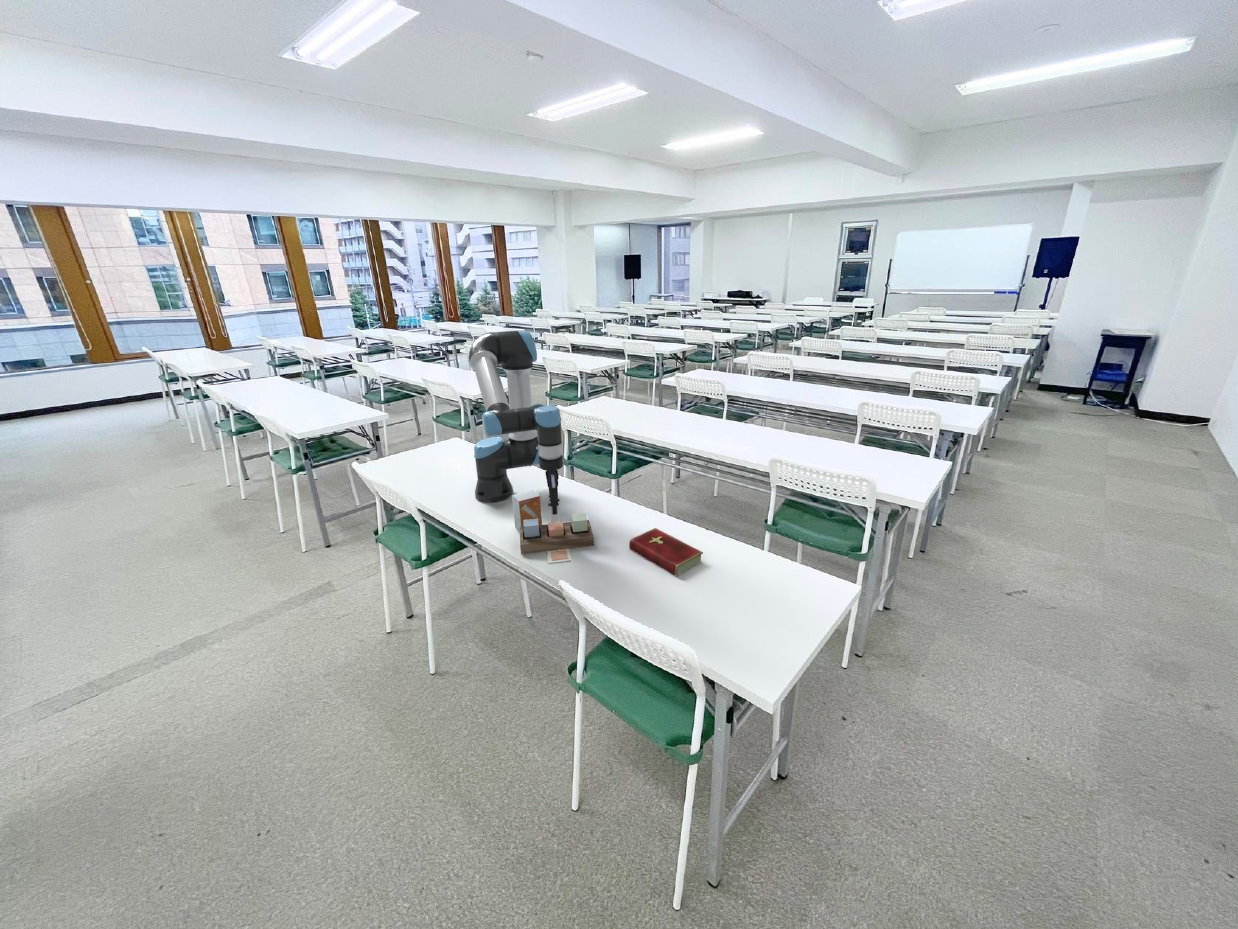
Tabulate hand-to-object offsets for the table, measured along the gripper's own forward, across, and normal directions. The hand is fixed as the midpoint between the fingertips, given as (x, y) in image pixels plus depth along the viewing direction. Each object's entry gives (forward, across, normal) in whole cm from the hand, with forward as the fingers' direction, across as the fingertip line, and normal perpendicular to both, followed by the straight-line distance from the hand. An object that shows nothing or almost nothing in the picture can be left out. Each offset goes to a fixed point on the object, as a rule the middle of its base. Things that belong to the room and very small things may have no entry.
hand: (555, 521), depth 166 cm
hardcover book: (+8, +17, +33) cm, 38 cm away
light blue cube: (+4, 0, -8) cm, 9 cm away
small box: (+8, -11, -9) cm, 16 cm away
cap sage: (+4, 0, +8) cm, 9 cm away
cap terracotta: (+7, 0, 0) cm, 7 cm away
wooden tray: (+7, 0, 0) cm, 7 cm away
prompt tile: (+7, +10, 0) cm, 13 cm away
